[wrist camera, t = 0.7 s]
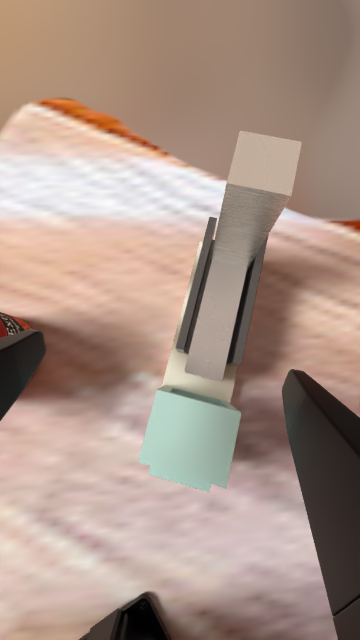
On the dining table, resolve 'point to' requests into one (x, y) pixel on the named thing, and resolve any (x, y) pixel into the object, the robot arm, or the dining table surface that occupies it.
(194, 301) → the sleeve
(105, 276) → the dining table surface
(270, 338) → the dining table surface
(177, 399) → the socket
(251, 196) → the light grey l-shaped piece
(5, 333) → the canned food
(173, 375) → the base board
